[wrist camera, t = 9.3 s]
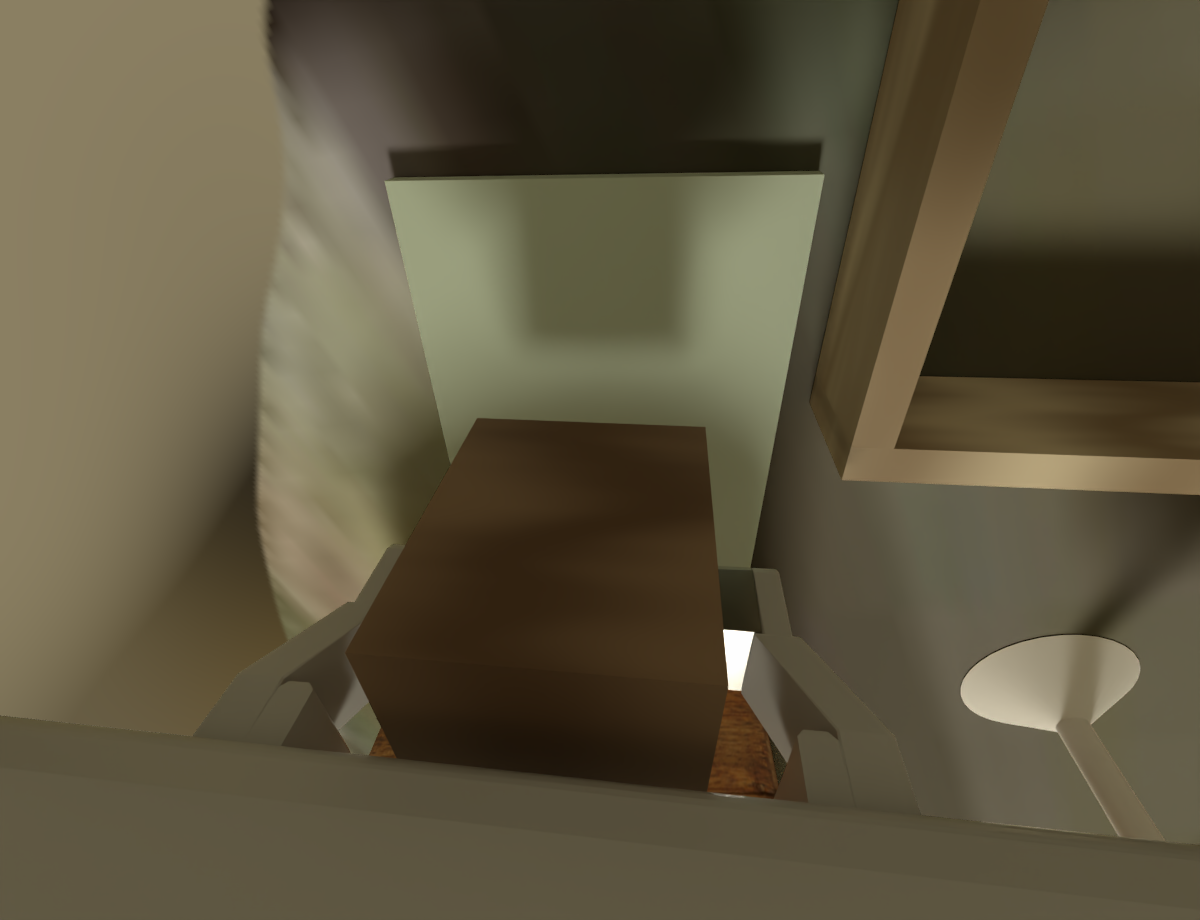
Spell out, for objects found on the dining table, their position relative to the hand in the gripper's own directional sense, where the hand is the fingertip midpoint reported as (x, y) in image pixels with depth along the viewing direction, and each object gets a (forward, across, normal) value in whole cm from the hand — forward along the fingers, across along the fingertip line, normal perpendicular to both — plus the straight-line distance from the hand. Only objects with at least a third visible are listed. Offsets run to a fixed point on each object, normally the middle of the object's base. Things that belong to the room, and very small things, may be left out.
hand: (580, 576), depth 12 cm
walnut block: (+2, 0, 0) cm, 2 cm away
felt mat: (+8, 0, 0) cm, 8 cm away
